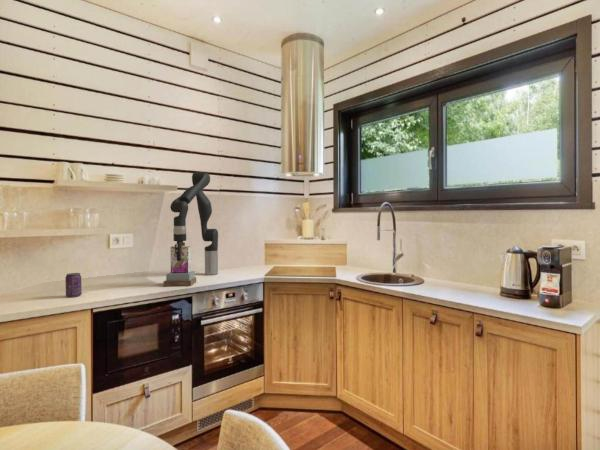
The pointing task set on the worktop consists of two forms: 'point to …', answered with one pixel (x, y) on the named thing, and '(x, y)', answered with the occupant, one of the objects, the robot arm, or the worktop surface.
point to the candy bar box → (185, 261)
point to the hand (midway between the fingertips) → (180, 260)
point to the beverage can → (73, 285)
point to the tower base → (179, 283)
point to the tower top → (180, 276)
